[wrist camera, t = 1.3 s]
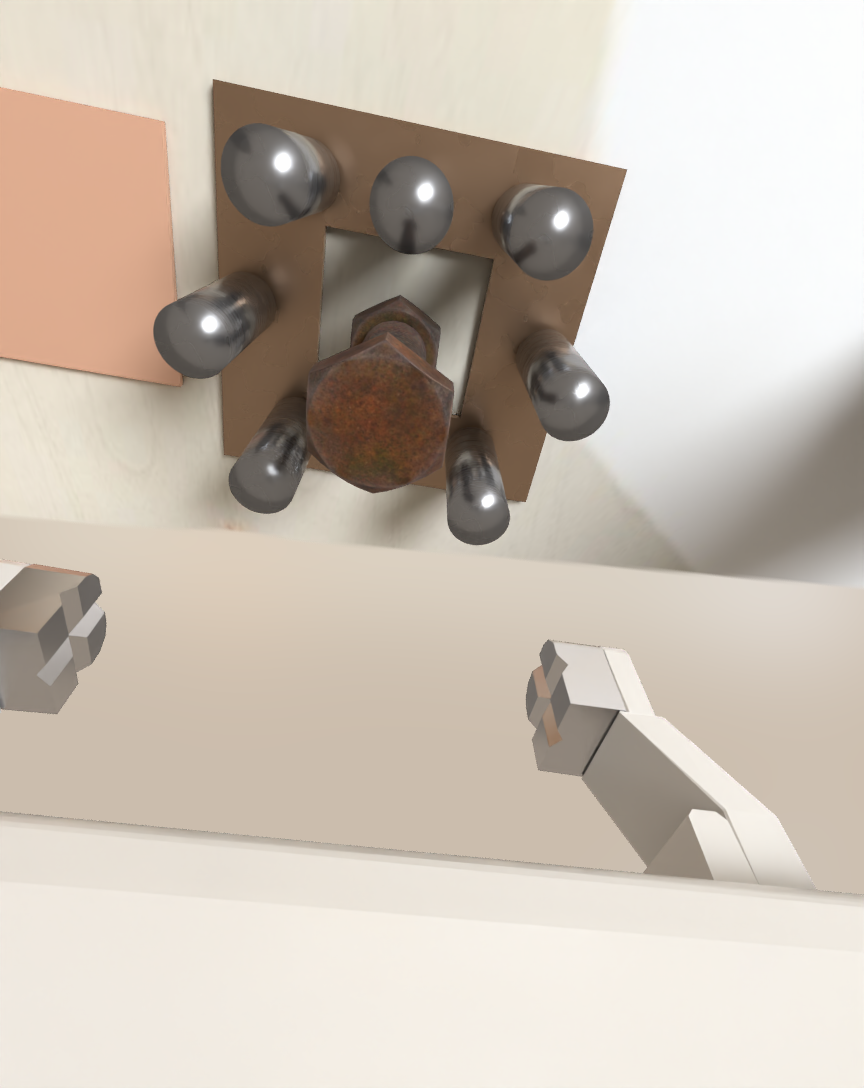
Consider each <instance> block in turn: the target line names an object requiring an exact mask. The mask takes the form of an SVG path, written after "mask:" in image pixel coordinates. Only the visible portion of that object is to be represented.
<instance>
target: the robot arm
mask: <svg viewBox="0 0 864 1088" xmlns="http://www.w3.org/2000/svg"><path fill="white" fill-rule="evenodd" d="M101 593H102V591H101V586H100V581H99V578H98V577H97V576H95V575H94V574H91V573H85V572H79V571H72V570H67V569H61V568H55V567H49V566H43V565H37V564H27V563H22V562H16V561H10V560H4V559H3V560H0V713H1V709H5V710H15V711H26V712H38V713H50V714H58V712H59V711H60V709H61V708H62V706H63V705H64V704H65V702H66V701H67V699H68V698H69V696H70V695H71V694H72V692H73V691H74V689H75V688H76V686H77V685H78V680H77V674H76V672H78V671H79V670H82V669H83V668H85V667H87V666H89V665H91V664H92V663H93V661H94V660H95V658H96V657H97V655H98V654H99V652H100V650H101V647H102V644H103V641H104V638H105V633H106V617H105V612H104V611H103V610H102V609H101V608H100V607H99V606H98V605H97V604H96V603H95V601H96V600H97V599H98V597H99V596H100V595H101ZM540 659H541V663H542V665H541V666H540V667H538V668H537V669H535V670H534V671H533V672H532V674H531V677H530V680H529V682H528V687H527V694H526V709H527V715H528V720H529V721H530V722H531V723H532V724H533V725H534V726H535V727H536V729H537V730H536V732H535V734H534V736H533V739H532V742H533V746H534V752H535V757H536V762H537V766H538V770H540V771H547V772H554V773H561V774H569V775H575V776H582V780H583V781H584V782H585V784H586V785H587V787H588V788H589V789H590V791H591V792H592V793H593V794H594V796H595V797H596V799H597V800H598V801H599V803H600V804H601V805H602V807H603V808H604V809H605V811H606V812H607V813H608V815H609V816H610V817H611V818H612V820H613V821H614V823H615V824H616V825H617V827H618V828H619V829H620V831H621V832H622V833H623V835H624V836H625V837H626V839H627V840H628V841H629V843H630V844H631V845H632V847H633V848H634V849H635V851H636V852H637V853H638V855H639V856H640V857H641V859H642V860H643V861H644V863H645V864H646V865H647V869H646V870H645V871H644V872H643V873H634V872H624V871H613V870H603V869H593V868H582V867H571V866H562V865H552V864H541V863H531V862H520V861H510V860H500V859H489V858H478V857H467V856H457V855H447V854H436V853H425V852H415V851H404V850H393V849H383V848H373V847H362V846H351V845H341V844H331V843H321V842H310V841H300V840H289V839H279V838H268V837H259V836H249V835H238V834H228V833H217V832H208V831H197V830H187V829H176V828H165V827H156V826H144V825H134V824H125V823H114V822H104V821H93V820H83V819H73V818H63V817H52V816H42V815H31V814H21V813H11V812H0V1088H864V895H862V894H852V893H842V892H831V891H820V890H817V889H816V887H815V885H814V884H813V882H812V880H811V878H810V876H809V874H808V873H807V871H806V869H805V867H804V865H803V864H802V862H801V860H800V858H799V856H798V854H797V853H796V851H795V849H794V847H793V845H792V843H791V842H790V840H789V838H788V836H787V834H786V833H785V831H784V829H783V827H782V825H781V824H780V822H779V820H778V818H777V817H776V816H775V815H774V814H773V813H772V812H771V811H769V810H768V809H767V808H766V807H765V806H764V805H763V804H762V803H761V802H759V801H758V800H757V799H756V798H755V797H754V796H752V795H751V794H750V793H749V792H748V791H747V790H746V789H745V788H743V787H742V786H741V785H740V784H739V783H738V782H736V781H735V780H734V779H733V778H732V777H731V776H730V775H729V774H728V773H726V772H725V771H724V770H723V769H722V768H721V767H720V766H718V765H717V764H716V763H715V762H714V761H713V760H712V759H711V758H709V757H708V756H707V755H706V754H705V753H704V752H703V751H701V750H700V749H699V748H698V747H697V746H696V745H695V744H693V743H692V742H691V741H690V740H689V739H688V738H687V737H685V736H684V735H683V734H682V733H681V732H680V731H679V730H677V729H676V728H675V727H674V726H673V725H672V724H671V723H669V722H668V721H667V720H666V719H665V718H664V717H660V716H656V715H655V713H654V711H653V709H652V706H651V704H650V702H649V699H648V697H647V695H646V693H645V691H644V688H643V686H642V684H641V681H640V679H639V677H638V674H637V672H636V670H635V667H634V665H633V663H632V661H631V658H630V656H629V654H628V653H627V652H626V651H625V650H624V649H618V648H610V647H602V646H598V647H596V646H590V645H583V644H575V643H569V642H562V641H554V640H548V641H547V642H546V643H545V644H544V645H543V648H542V650H541V652H540Z"/></svg>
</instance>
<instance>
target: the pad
mask: <svg viewBox="0 0 864 1088" xmlns="http://www.w3.org/2000/svg"><path fill="white" fill-rule="evenodd" d="M175 301H177V290H176V276H175V261H174V247H173V232H172V218H171V203H170V188H169V174H168V159H167V145H166V130H165V122H163V121H159V120H154V119H149V118H144V117H140V116H135V115H130V114H125V113H121V112H116V111H111V110H106V109H101V108H97V107H92V106H87V105H82V104H78V103H73V102H68V101H63V100H59V99H54V98H49V97H44V96H39V95H35V94H30V93H25V92H20V91H16V90H11V89H6V88H1V87H0V357H5V358H11V359H17V360H23V361H29V362H35V363H41V364H47V365H53V366H59V367H65V368H71V369H77V370H83V371H89V372H95V373H101V374H107V375H113V376H119V377H125V378H131V379H137V380H143V381H149V382H155V383H161V384H167V385H173V386H179V387H181V386H182V385H183V377H182V374H181V373H179V372H177V371H176V370H174V369H173V368H172V367H171V366H169V365H168V364H167V363H166V361H165V360H164V359H163V358H162V356H161V355H160V353H159V351H158V349H157V347H156V344H155V341H154V335H153V327H154V322H155V319H156V317H157V315H158V313H159V312H160V311H161V310H162V309H163V308H164V307H165V306H167V305H169V304H171V303H173V302H175Z"/></svg>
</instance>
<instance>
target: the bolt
mask: <svg viewBox="0 0 864 1088" xmlns="http://www.w3.org/2000/svg"><path fill="white" fill-rule="evenodd" d="M439 340H440V327H439V326H438V325H437V324H436V323H435V322H434V321H433V320H432V319H431V318H429V317H428V316H427V315H426V314H425V313H424V312H422V311H421V310H420V309H419V308H417V307H416V306H415V305H414V304H412V303H411V302H410V301H408V300H407V299H405V298H404V297H402V296H401V295H399V296H397V297H394V298H391V299H389V300H386V301H384V302H382V303H379V304H377V305H375V306H373V307H371V308H369V309H367V310H365V311H363V312H361V313H359V314H357V315H355V317H354V319H353V322H352V332H351V346H350V349H347V350H345V351H343V352H340V353H338V354H336V355H334V356H331V357H329V358H327V359H324V360H322V361H320V362H318V363H315V364H314V365H313V367H312V368H311V370H310V372H309V376H308V386H307V401H306V439H307V449H308V452H309V453H310V454H312V455H313V456H314V457H315V458H316V459H317V460H318V461H319V462H320V463H321V464H322V465H324V466H325V467H326V468H327V469H329V470H330V471H331V472H333V473H334V474H336V475H337V476H339V477H340V478H342V479H343V480H345V481H346V482H348V483H350V484H352V485H354V486H356V487H358V488H360V489H363V490H365V491H368V492H370V493H378V492H385V491H389V490H393V489H396V488H399V487H402V486H405V485H408V484H411V483H414V482H416V481H418V480H420V479H422V478H424V477H426V476H428V475H430V474H432V473H433V472H435V471H437V470H439V469H440V468H442V466H443V461H444V457H445V451H446V445H447V439H448V433H449V427H450V420H451V413H452V405H453V396H454V386H453V382H452V381H451V380H449V379H448V378H447V377H445V376H444V375H443V374H442V373H440V372H439V371H438V370H436V363H437V355H438V348H439Z"/></svg>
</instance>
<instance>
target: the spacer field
mask: <svg viewBox="0 0 864 1088" xmlns="http://www.w3.org/2000/svg"><path fill="white" fill-rule="evenodd" d="M213 102H214V135H215V168H216V201H217V234H218V267H219V280H217V281H215V282H213V283H211V284H209V285H207V286H205V287H203V288H201V289H199V290H197V291H195V292H193V293H191V294H189V295H187V296H185V297H183V298H181V299H179V300H177V301H175V302H173V303H171V304H169V305H167V306H165V307H164V308H163V309H162V310H161V311H160V312H159V313H158V315H157V317H156V319H155V322H154V327H153V335H154V341H155V344H156V347H157V349H158V351H159V353H160V355H161V356H162V358H163V359H164V360H165V361H166V363H167V364H168V365H169V366H171V367H172V368H173V369H174V370H176V371H177V372H179V373H181V374H183V375H185V376H188V377H192V378H198V379H203V378H209V377H212V376H214V375H216V374H218V373H219V372H220V371H221V370H222V399H223V432H224V455H230V456H236V457H239V459H238V460H237V462H236V463H235V464H234V466H233V467H232V469H231V471H230V474H229V486H230V489H231V492H232V494H233V495H234V497H235V498H236V499H237V501H238V502H239V503H241V504H242V505H243V506H244V507H246V508H248V509H249V510H252V511H254V512H258V513H264V514H270V513H276V512H279V511H281V510H283V509H284V508H286V507H287V506H288V505H289V504H290V502H291V501H292V498H293V496H294V494H295V492H296V489H297V487H298V485H299V482H300V480H301V478H302V475H303V473H304V471H305V469H306V468H313V469H319V470H325V471H330V470H329V469H327V468H326V467H325V466H324V465H322V464H321V463H320V462H319V461H318V460H317V459H316V458H315V457H314V456H313V455H312V454H310V453H309V452H308V449H307V439H306V401H307V386H308V376H309V372H310V370H311V368H312V367H313V365H314V364H315V363H318V354H319V338H320V322H321V307H322V291H323V275H324V259H325V243H326V228H327V226H329V227H334V228H339V229H344V230H349V231H354V232H359V233H364V234H369V235H374V236H379V237H380V238H381V239H382V240H383V241H384V242H385V243H386V244H387V245H388V246H390V247H391V248H393V249H394V250H396V251H399V252H401V253H405V254H420V253H423V252H426V251H428V250H430V249H432V248H434V247H435V248H440V249H445V250H450V251H455V252H460V253H465V254H470V255H475V256H480V257H485V258H490V259H494V260H493V264H492V269H491V274H490V279H489V283H488V288H487V293H486V297H485V302H484V307H483V312H482V316H481V321H480V326H479V330H478V335H477V340H476V345H475V349H474V354H473V359H472V364H471V368H470V373H469V378H468V382H467V387H466V392H465V397H464V401H463V406H462V411H461V415H460V416H458V415H452V414H451V420H450V427H449V433H448V439H447V445H446V451H445V457H444V461H443V466H442V468H440V469H439V470H437V471H435V472H433V473H432V474H430V475H428V476H426V477H424V478H422V479H420V480H418V481H416V482H414V483H411V484H414V485H420V486H427V487H433V488H439V489H446V495H447V520H448V526H449V529H450V531H451V532H452V534H453V535H454V536H455V537H456V538H457V539H459V540H460V541H462V542H464V543H467V544H471V545H483V544H488V543H491V542H493V541H495V540H496V539H498V538H499V537H500V536H502V535H503V533H504V532H505V531H506V529H507V527H508V525H509V521H510V513H509V509H508V504H507V500H506V499H509V500H515V501H522V502H526V499H527V496H528V492H529V489H530V486H531V483H532V479H533V476H534V473H535V470H536V466H537V463H538V460H539V456H540V453H541V450H542V447H543V443H544V440H545V437H546V433H548V434H550V435H551V436H552V437H554V438H556V439H559V440H563V441H576V440H580V439H583V438H586V437H588V436H589V435H591V434H592V433H594V432H595V431H596V430H597V429H598V428H599V427H600V426H601V425H602V424H603V422H604V420H605V419H606V417H607V414H608V411H609V405H610V400H609V394H608V391H607V389H606V387H605V386H604V384H603V383H602V382H601V381H600V379H599V378H598V377H597V376H596V374H595V373H594V372H593V371H592V369H591V368H590V367H589V366H588V365H587V363H586V362H585V361H584V360H583V358H582V357H581V356H580V355H579V353H578V352H577V351H576V350H575V348H574V347H573V345H574V342H575V339H576V335H577V332H578V329H579V325H580V322H581V319H582V316H583V312H584V309H585V306H586V303H587V299H588V296H589V293H590V289H591V286H592V283H593V280H594V276H595V273H596V270H597V266H598V263H599V260H600V257H601V253H602V250H603V247H604V244H605V240H606V237H607V234H608V230H609V227H610V224H611V221H612V217H613V214H614V211H615V208H616V204H617V201H618V198H619V194H620V191H621V188H622V185H623V181H624V178H625V175H626V172H627V170H626V169H622V168H617V167H612V166H608V165H603V164H599V163H594V162H590V161H585V160H580V159H576V158H571V157H567V156H562V155H558V154H553V153H548V152H544V151H539V150H535V149H530V148H525V147H521V146H516V145H512V144H507V143H503V142H498V141H493V140H489V139H484V138H480V137H475V136H471V135H466V134H461V133H457V132H452V131H448V130H443V129H438V128H434V127H429V126H425V125H420V124H416V123H411V122H406V121H402V120H397V119H393V118H388V117H383V116H379V115H374V114H370V113H365V112H361V111H356V110H351V109H347V108H342V107H338V106H333V105H329V104H324V103H319V102H315V101H310V100H306V99H301V98H296V97H292V96H287V95H283V94H278V93H274V92H269V91H264V90H260V89H255V88H251V87H246V86H242V85H237V84H232V83H228V82H223V81H219V80H214V79H213Z"/></svg>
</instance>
